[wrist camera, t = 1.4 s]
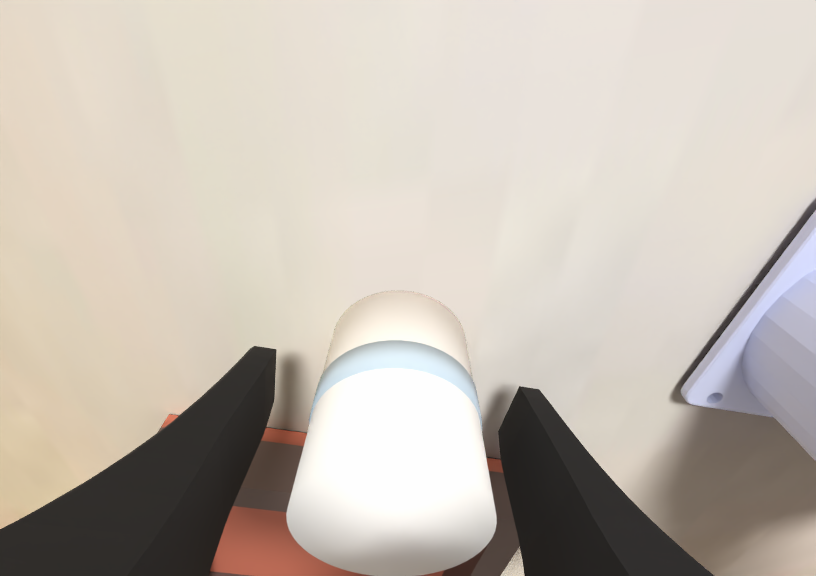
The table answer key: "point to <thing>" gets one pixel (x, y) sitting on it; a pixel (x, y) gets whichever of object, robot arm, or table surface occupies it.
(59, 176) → the table surface
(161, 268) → the table surface
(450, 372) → the blue-banded white capsule
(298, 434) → the lacquer tray
